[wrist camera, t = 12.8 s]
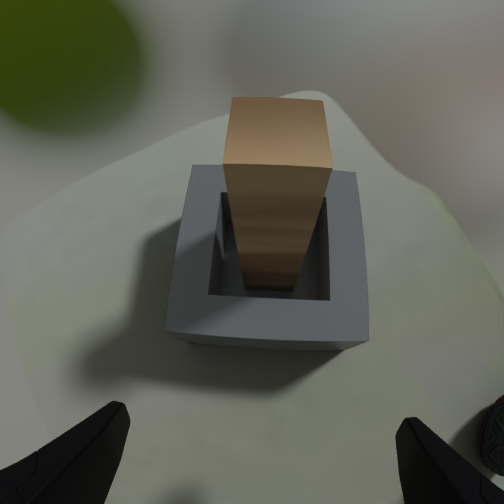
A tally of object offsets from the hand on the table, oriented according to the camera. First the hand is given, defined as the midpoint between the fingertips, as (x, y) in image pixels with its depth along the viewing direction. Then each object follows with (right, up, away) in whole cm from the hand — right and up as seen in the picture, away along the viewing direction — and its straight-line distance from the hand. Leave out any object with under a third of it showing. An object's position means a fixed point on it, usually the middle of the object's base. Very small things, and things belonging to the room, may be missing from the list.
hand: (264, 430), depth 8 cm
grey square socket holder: (+1, +4, +12) cm, 13 cm away
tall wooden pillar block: (+1, +4, +12) cm, 12 cm away
